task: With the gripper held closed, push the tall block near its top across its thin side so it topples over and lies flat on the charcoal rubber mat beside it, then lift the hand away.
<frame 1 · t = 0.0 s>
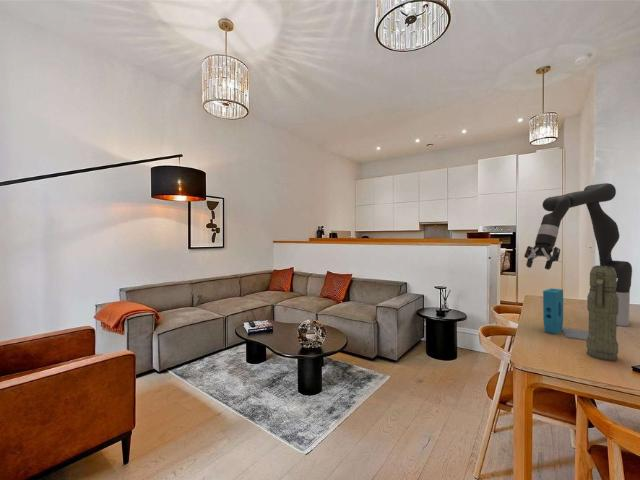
hand: (537, 268, 139), 31 cm above the table, fingers open, 8 cm apart
block: (553, 331, 144), on the table
olive green pouch: (601, 356, 115), on the table
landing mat: (584, 335, 138), on the table
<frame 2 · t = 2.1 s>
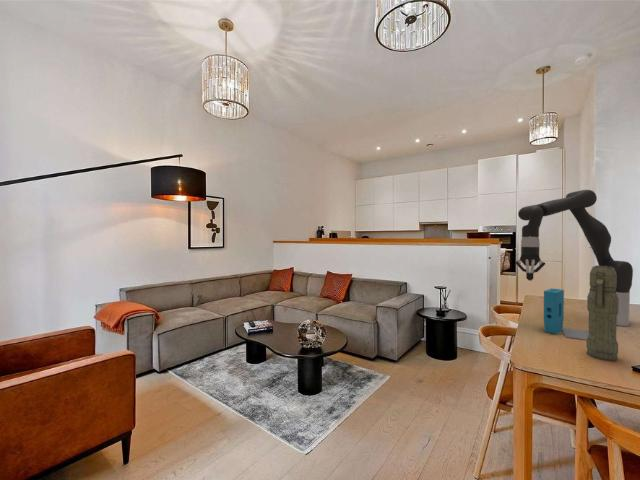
hand: (529, 280, 149), 24 cm above the table, fingers closed
nothing on the table moved.
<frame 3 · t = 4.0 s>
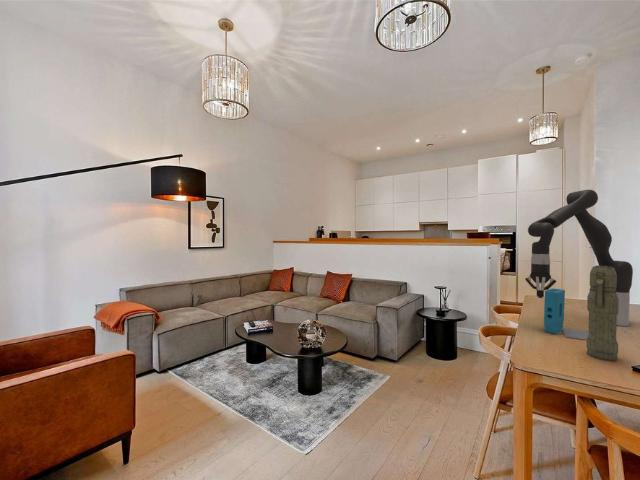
hand: (540, 297, 147), 16 cm above the table, fingers closed
block: (553, 331, 144), on the table, touching gripper
everything else where it was.
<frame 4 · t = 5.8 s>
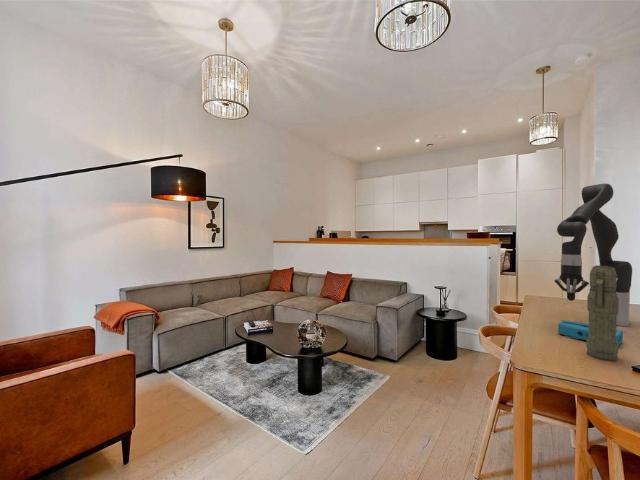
hand: (570, 300, 140), 16 cm above the table, fingers closed
block: (560, 326, 142), point 3 cm above the table, touching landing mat
everything else where it was.
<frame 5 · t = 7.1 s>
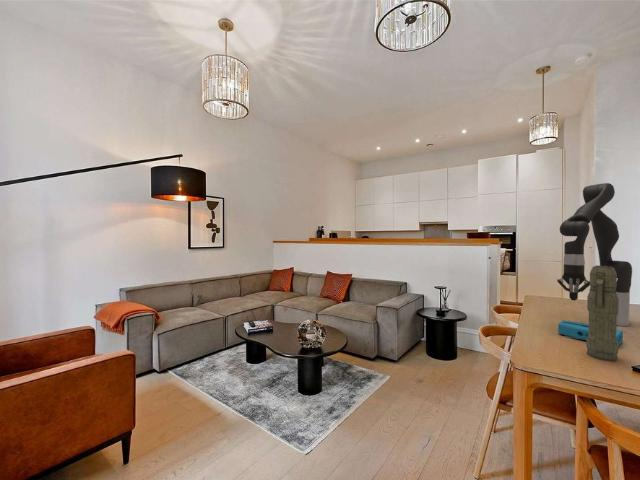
hand: (573, 300, 140), 16 cm above the table, fingers closed
nothing on the table moved.
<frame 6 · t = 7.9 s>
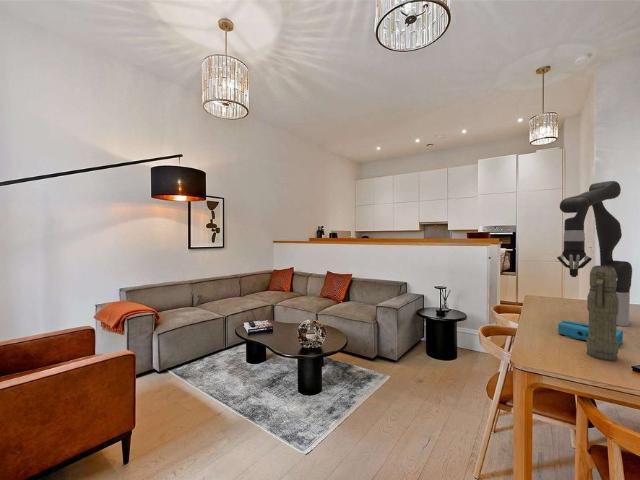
hand: (573, 276, 139), 27 cm above the table, fingers closed
nothing on the table moved.
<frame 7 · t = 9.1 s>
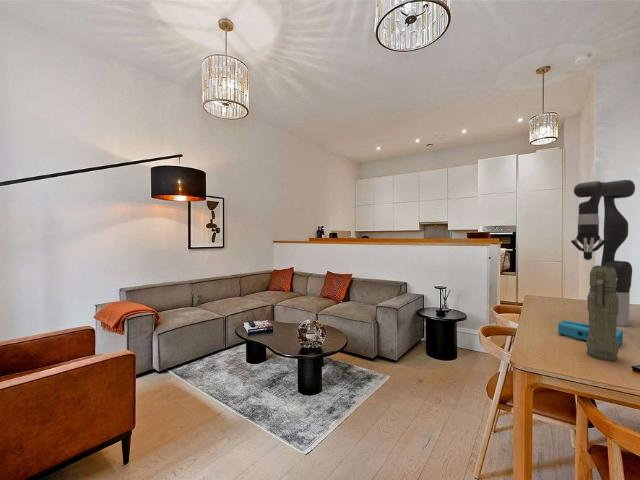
hand: (587, 259, 142), 35 cm above the table, fingers closed
nothing on the table moved.
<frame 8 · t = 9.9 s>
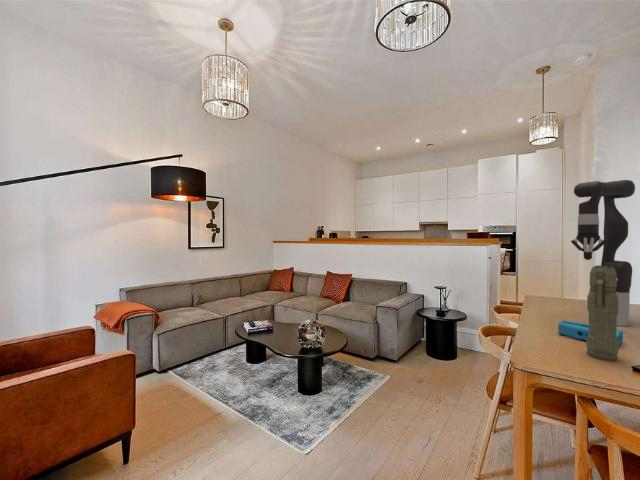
hand: (587, 259, 142), 35 cm above the table, fingers closed
nothing on the table moved.
at the end: block tilted 90°; block touching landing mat; olive green pouch moved 0.2 cm from its start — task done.
